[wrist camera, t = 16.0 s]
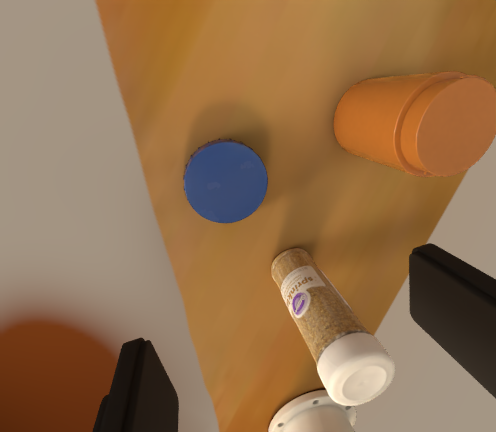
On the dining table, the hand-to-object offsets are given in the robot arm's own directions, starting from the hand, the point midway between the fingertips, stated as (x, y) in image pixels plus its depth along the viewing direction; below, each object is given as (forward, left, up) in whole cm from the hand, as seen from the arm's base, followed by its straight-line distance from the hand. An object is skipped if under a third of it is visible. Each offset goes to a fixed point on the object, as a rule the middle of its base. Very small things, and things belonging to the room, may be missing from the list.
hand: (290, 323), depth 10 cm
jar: (+5, -13, -17) cm, 22 cm away
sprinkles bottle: (-9, -6, -17) cm, 20 cm away
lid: (+1, 0, -16) cm, 16 cm away
